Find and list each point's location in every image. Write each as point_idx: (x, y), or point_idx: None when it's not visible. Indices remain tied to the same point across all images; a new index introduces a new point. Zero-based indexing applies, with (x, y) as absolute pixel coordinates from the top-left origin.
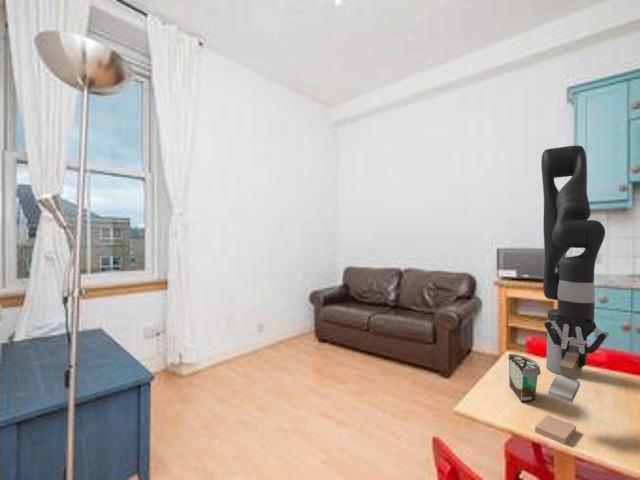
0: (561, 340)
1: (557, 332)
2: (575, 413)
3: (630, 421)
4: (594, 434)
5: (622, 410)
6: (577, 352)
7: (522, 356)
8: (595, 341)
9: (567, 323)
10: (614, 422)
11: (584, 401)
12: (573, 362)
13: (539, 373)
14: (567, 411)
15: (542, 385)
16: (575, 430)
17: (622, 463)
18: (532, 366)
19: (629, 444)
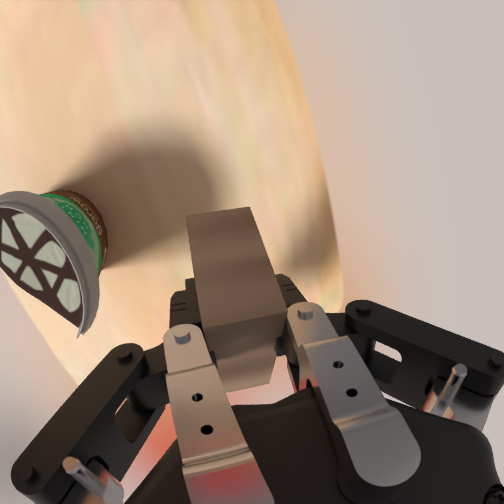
0: (153, 380)
1: (101, 415)
2: (203, 192)
3: (301, 108)
4: (273, 257)
5: (269, 57)
6: (267, 342)
7: None
8: (411, 402)
9: None
10: (281, 150)
11: (184, 88)
12: (265, 373)
13: (91, 259)
14: (185, 201)
15: (64, 102)
16: None
17: (331, 308)
18: (51, 251)
19: (328, 231)
